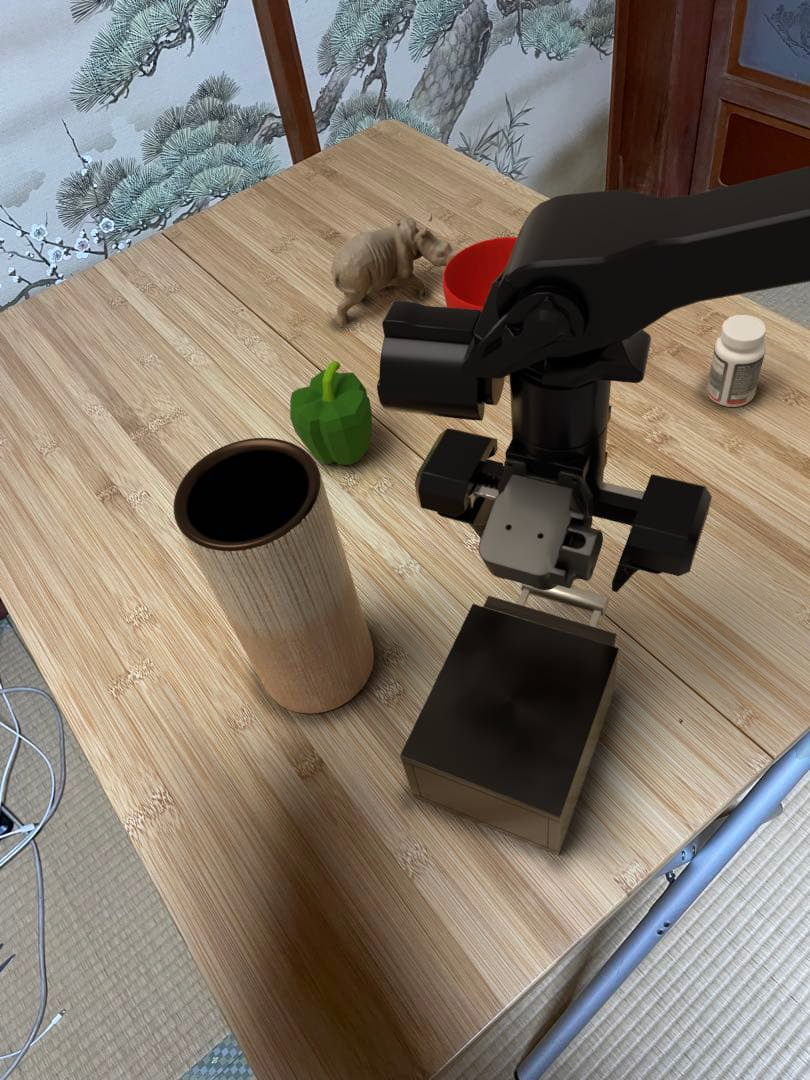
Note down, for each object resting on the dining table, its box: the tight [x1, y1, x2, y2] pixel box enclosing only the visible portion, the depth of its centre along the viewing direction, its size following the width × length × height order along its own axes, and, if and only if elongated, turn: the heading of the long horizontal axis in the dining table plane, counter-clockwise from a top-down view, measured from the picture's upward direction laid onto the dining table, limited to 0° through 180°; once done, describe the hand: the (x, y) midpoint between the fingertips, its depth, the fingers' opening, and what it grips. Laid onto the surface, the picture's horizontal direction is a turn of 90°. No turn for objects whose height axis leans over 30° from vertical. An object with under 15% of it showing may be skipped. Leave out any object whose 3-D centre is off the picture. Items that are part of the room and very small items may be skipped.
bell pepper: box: [289, 360, 373, 466], centre depth 85 cm, size 8×8×10 cm
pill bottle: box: [706, 314, 767, 408], centre depth 83 cm, size 5×5×8 cm
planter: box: [172, 437, 375, 714], centre depth 64 cm, size 10×10×23 cm
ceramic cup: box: [442, 236, 518, 311], centre depth 92 cm, size 13×17×10 cm
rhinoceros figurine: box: [330, 214, 461, 328], centre depth 101 cm, size 8×14×15 cm
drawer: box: [482, 583, 618, 647], centre depth 65 cm, size 17×10×6 cm, turn 155°
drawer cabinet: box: [399, 603, 620, 856], centre depth 63 cm, size 14×12×8 cm
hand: (556, 570), depth 62 cm, fingers open, 9 cm apart
